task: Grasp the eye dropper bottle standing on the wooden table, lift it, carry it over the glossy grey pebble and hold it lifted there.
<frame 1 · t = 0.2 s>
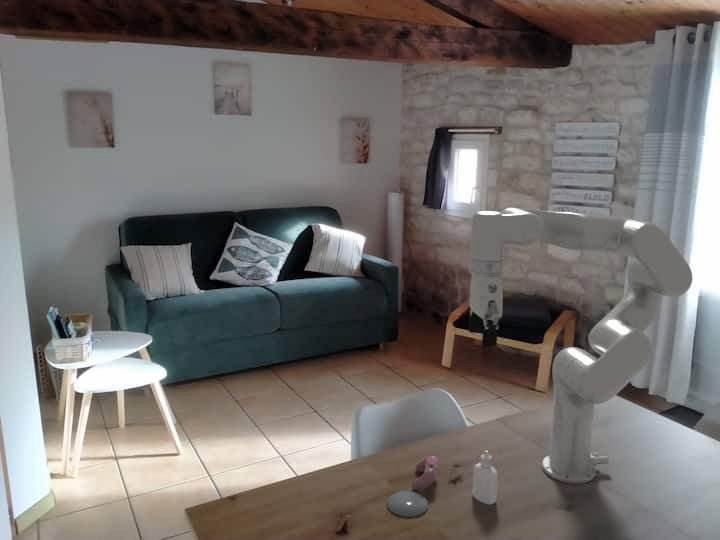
hand: (482, 338, 140), 36 cm above the table, tool pointing down, fingers open, 9 cm apart
glossy grey pebble: (407, 504, 137), on the table
eye dropper bottle: (484, 499, 139), on the table
video game controller: (425, 482, 147), on the table
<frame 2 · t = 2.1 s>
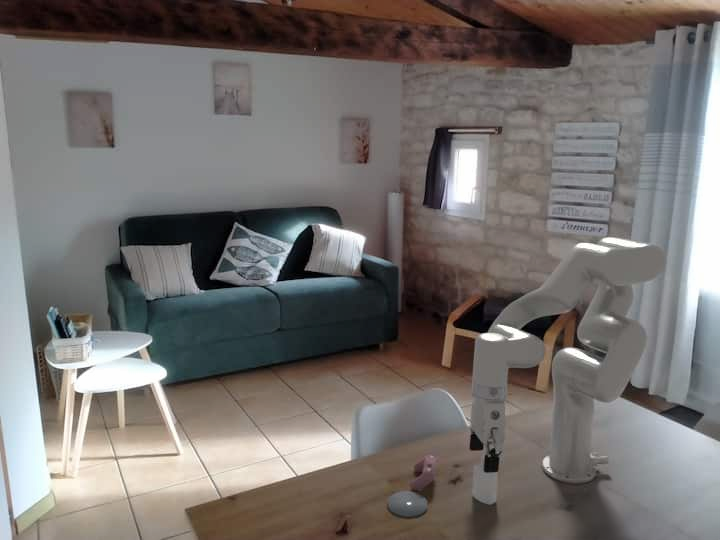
hand: (483, 460, 137), 10 cm above the table, tool pointing down, fingers open, 9 cm apart
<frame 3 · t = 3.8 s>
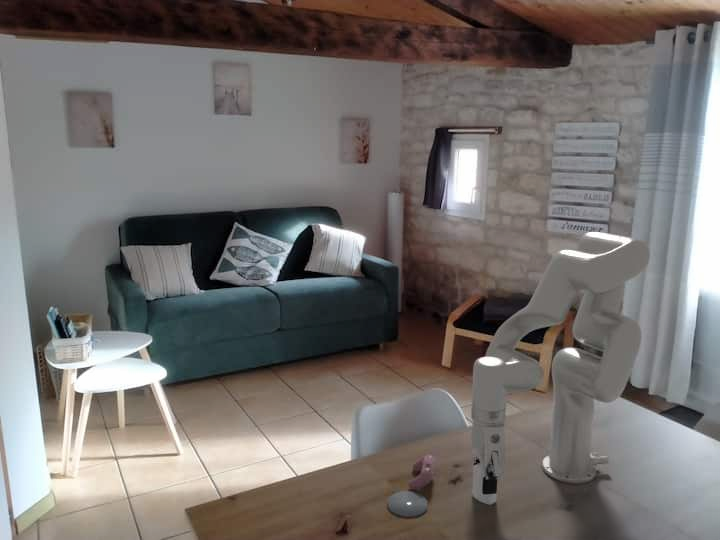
hand: (484, 485, 139), 4 cm above the table, tool pointing down, fingers closed on eye dropper bottle, 5 cm apart
eye dropper bottle: (484, 499, 139), on the table, touching gripper
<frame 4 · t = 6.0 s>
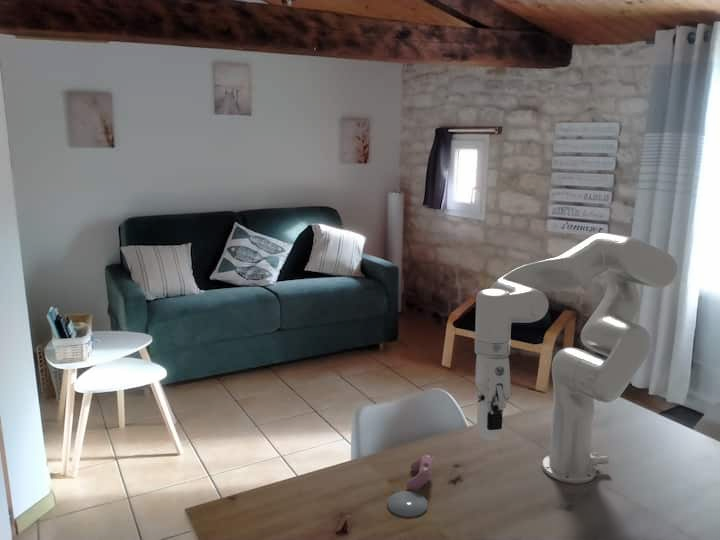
hand: (489, 421, 136), 19 cm above the table, tool pointing down, fingers closed on eye dropper bottle, 5 cm apart
eye dropper bottle: (488, 437, 136), point 15 cm above the table, touching gripper
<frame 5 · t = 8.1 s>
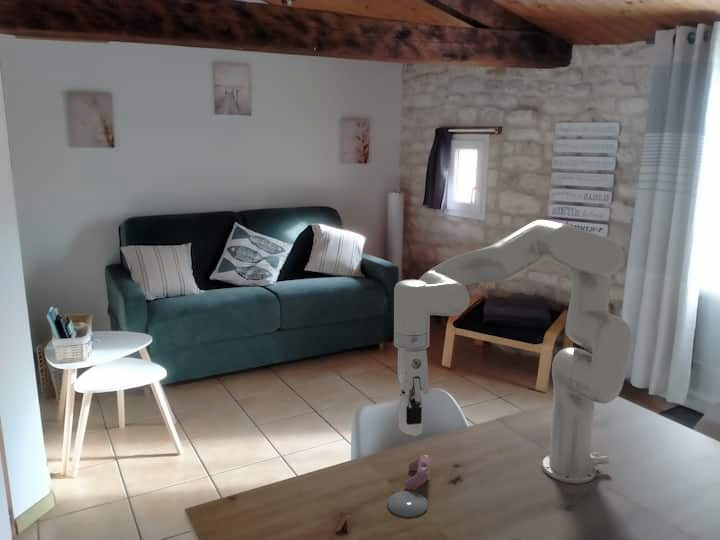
hand: (410, 416, 133), 22 cm above the table, tool pointing down, fingers closed on eye dropper bottle, 5 cm apart
eye dropper bottle: (410, 431, 133), point 18 cm above the table, touching gripper
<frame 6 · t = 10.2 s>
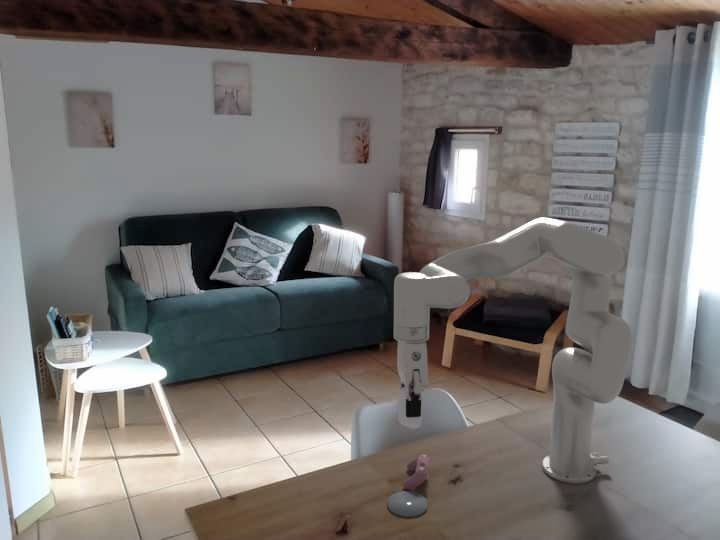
hand: (410, 409, 132), 23 cm above the table, tool pointing down, fingers closed on eye dropper bottle, 5 cm apart
eye dropper bottle: (409, 425, 133), point 20 cm above the table, touching gripper
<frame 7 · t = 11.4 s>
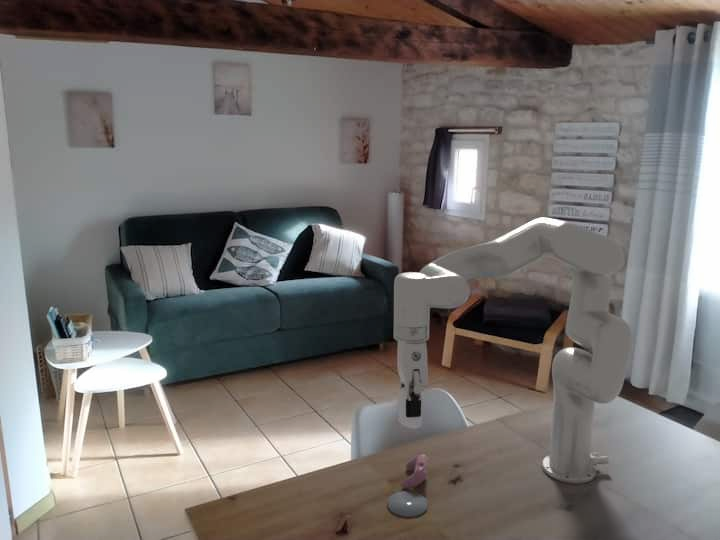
hand: (410, 409, 132), 23 cm above the table, tool pointing down, fingers closed on eye dropper bottle, 5 cm apart
eye dropper bottle: (409, 425, 133), point 20 cm above the table, touching gripper
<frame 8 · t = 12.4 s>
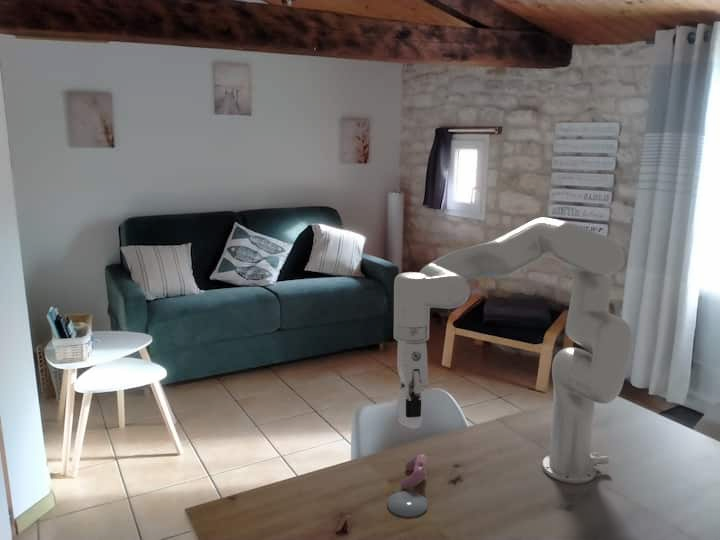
hand: (410, 409, 132), 23 cm above the table, tool pointing down, fingers closed on eye dropper bottle, 5 cm apart
eye dropper bottle: (409, 425, 133), point 20 cm above the table, touching gripper
at the end: the gripper is holding eye dropper bottle; eye dropper bottle inside the target area (0.2 cm from its centre), point 19.6 cm above the table; video game controller moved 2.6 cm from its start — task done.
